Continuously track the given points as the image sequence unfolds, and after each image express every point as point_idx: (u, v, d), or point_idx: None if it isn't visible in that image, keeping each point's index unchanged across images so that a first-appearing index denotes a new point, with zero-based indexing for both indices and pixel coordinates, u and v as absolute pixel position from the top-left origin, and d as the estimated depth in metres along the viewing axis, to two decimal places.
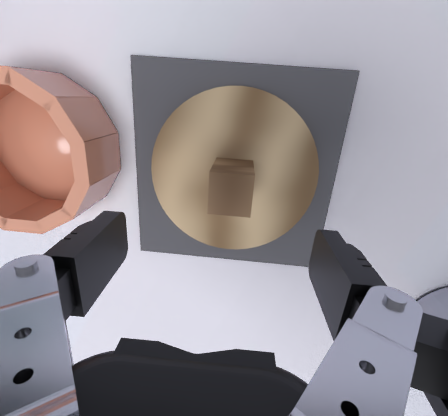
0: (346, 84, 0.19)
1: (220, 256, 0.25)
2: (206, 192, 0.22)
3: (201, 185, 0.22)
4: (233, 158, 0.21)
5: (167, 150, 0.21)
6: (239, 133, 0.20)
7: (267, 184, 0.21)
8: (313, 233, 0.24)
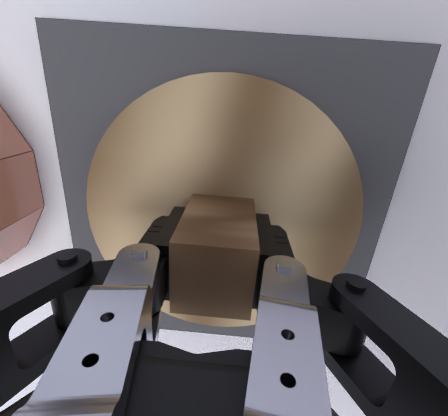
0: (415, 69, 0.11)
1: (203, 330, 0.17)
2: None
3: None
4: (220, 195, 0.12)
5: (111, 181, 0.13)
6: (230, 155, 0.12)
7: None
8: None
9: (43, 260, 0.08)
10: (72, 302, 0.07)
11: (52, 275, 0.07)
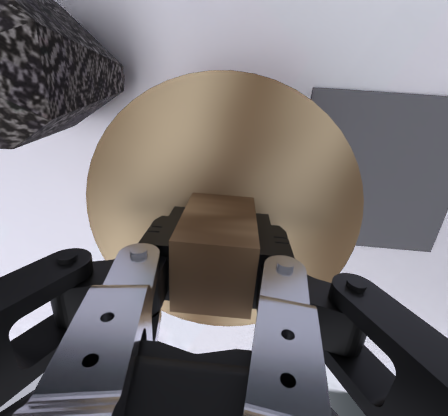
0: None
1: None
2: None
3: None
4: (221, 194, 0.12)
5: (111, 180, 0.13)
6: (230, 154, 0.12)
7: None
8: (434, 224, 0.30)
9: (43, 260, 0.08)
10: (72, 302, 0.07)
11: (52, 275, 0.07)
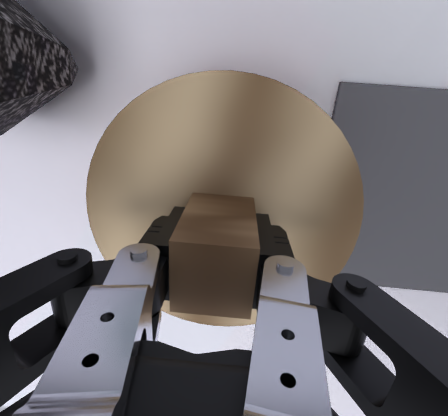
0: None
1: (385, 285, 0.24)
2: None
3: None
4: (221, 194, 0.12)
5: (111, 180, 0.13)
6: (230, 154, 0.12)
7: None
8: None
9: (43, 260, 0.08)
10: (72, 302, 0.07)
11: (52, 275, 0.07)
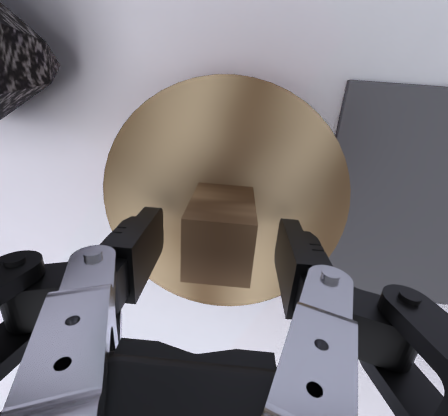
0: None
1: None
2: None
3: (177, 221, 0.15)
4: (223, 184, 0.14)
5: (126, 171, 0.14)
6: (232, 148, 0.13)
7: (274, 221, 0.15)
8: None
9: None
10: (26, 304, 0.07)
11: None
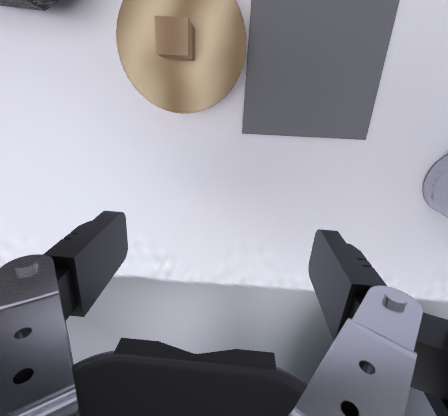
0: None
1: (299, 135, 0.36)
2: (161, 60, 0.28)
3: (156, 53, 0.28)
4: None
5: (128, 22, 0.27)
6: (182, 5, 0.26)
7: (208, 51, 0.28)
8: (366, 112, 0.34)
9: None
10: None
11: None
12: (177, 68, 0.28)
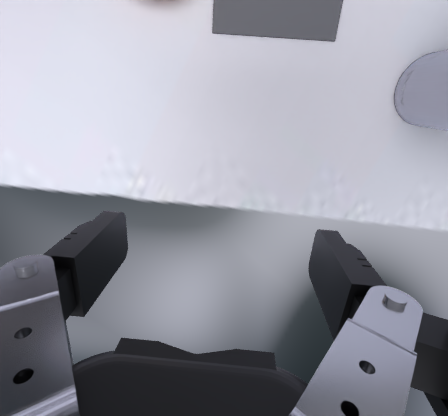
0: None
1: (269, 34, 0.36)
2: None
3: None
4: None
5: None
6: None
7: None
8: (335, 9, 0.34)
9: None
10: None
11: None
12: None
